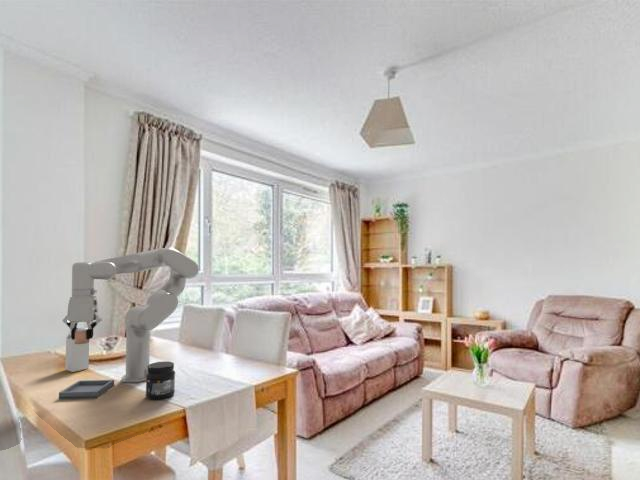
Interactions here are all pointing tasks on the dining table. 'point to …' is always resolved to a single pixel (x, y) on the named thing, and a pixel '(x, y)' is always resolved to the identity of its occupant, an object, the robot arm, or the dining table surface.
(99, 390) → the tray
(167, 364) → the supplement container
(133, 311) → the robot arm
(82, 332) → the salt shaker
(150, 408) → the dining table surface
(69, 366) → the milk carton
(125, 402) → the dining table surface
